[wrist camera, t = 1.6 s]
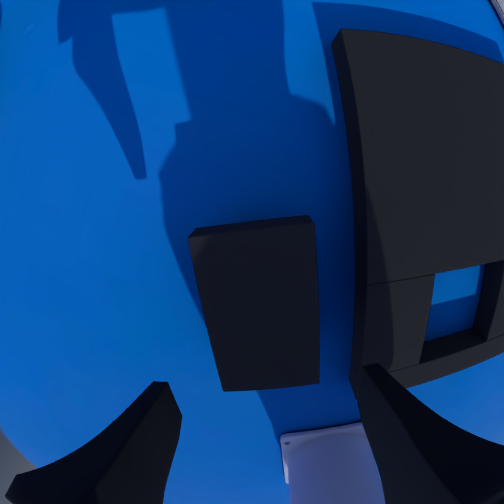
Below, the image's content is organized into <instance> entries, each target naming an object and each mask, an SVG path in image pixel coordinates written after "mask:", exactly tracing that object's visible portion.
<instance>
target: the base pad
mask: <svg viewBox="0 0 504 504" xmlns="http://www.w3.org/2000/svg"><path fill="white" fill-rule="evenodd" d="M331 45H332V49H333V54H334V59H335V64H336V69H337V74H338V79H339V85H340V91H341V97H342V103H343V109H344V116H345V124H346V131H347V139H348V148H349V157H350V168H351V179H352V193H353V209H354V232H355V270H356V271H355V304H354V328H353V344H352V357H351V358H352V359H351V369H350V379H349V380H350V383H351V386H352V389H353V392H354V395H355V398H356V400H358V395H359V388H360V381H361V374H362V366H365V365H370V364H375V363H379V364H380V365H381V366H382V367H383V368H384V369H385V370H386V371H387V372H388V373H389V374H390V375H392V376H393V377H394V378H395V379H396V380H397V381H398V382H399V383H400V384H401V385H402V386H403V387H404V388H409V387H412V386H416V385H419V384H422V383H426V382H429V381H432V380H435V379H438V378H441V377H444V376H447V375H449V374H452V373H455V372H458V371H460V370H463V369H466V368H468V367H471V366H473V365H476V364H478V363H480V362H483V361H485V360H487V359H490V358H492V357H494V356H496V355H499V354H501V353H503V352H504V64H501V63H499V62H496V61H494V60H491V59H489V58H486V57H483V56H480V55H477V54H475V53H472V52H468V51H465V50H462V49H459V48H455V47H452V46H448V45H444V44H441V43H437V42H432V41H428V40H423V39H419V38H414V37H408V36H403V35H397V34H390V33H383V32H375V31H365V30H354V29H340V31H339V32H338V34H337V35H336V37H335V39H334V40H333V42H332V43H331ZM482 264H486V267H485V273H484V279H483V285H482V290H481V295H480V300H479V305H478V309H477V313H476V317H475V321H474V325H473V328H471V329H468V330H465V331H461V332H458V333H455V334H452V335H448V336H445V337H442V338H438V339H435V340H431V341H427V342H424V339H425V334H426V329H427V324H428V318H429V313H430V307H431V300H432V293H433V286H434V277H435V274H436V273H441V272H447V271H452V270H457V269H462V268H467V267H472V266H477V265H482Z"/></svg>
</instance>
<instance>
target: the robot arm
mask: <svg viewBox="0 0 504 504" xmlns="http://www.w3.org/2000/svg"><path fill="white" fill-rule="evenodd" d="M357 403H358V408H359V412H360V417H361V421H362V422H358V423H354V424H349V425H343V426H338V427H332V428H326V429H319V430H312V431H304V432H295V433H286V434H283V435H281V437H280V441H281V449H282V458H283V466H284V475H285V482H286V483H287V484H289V499H290V504H504V446H503V445H500V444H497V443H494V442H491V441H488V440H485V439H483V438H480V437H478V436H476V435H474V434H471V433H469V432H467V431H465V430H463V429H461V428H459V427H457V426H455V425H454V424H452V423H451V422H449V421H447V420H446V419H444V418H442V417H441V416H439V415H438V414H437V413H435V412H434V411H432V410H431V409H430V408H428V407H427V406H426V405H424V404H423V403H422V402H421V401H420V400H418V399H417V398H416V397H415V396H414V395H412V394H411V393H410V392H409V391H408V390H407V389H406V388H404V387H403V386H402V385H401V384H400V383H399V382H398V381H397V380H396V379H395V378H394V377H393V376H392V375H390V374H389V373H388V372H387V371H386V370H385V369H384V368H383V367H382V366H381V365H380V364H379V363H375V364H370V365H365V366H362V374H361V381H360V388H359V395H358V401H357ZM181 422H182V414H181V412H180V410H179V407H178V405H177V403H176V400H175V398H174V396H173V393H172V391H171V389H170V386H169V384H168V382H155V381H153V382H152V383H151V384H150V385H149V386H148V387H147V388H146V389H145V391H144V392H143V393H142V394H141V395H140V396H139V397H138V398H137V399H136V400H135V401H134V402H133V403H132V404H131V405H130V406H129V407H128V408H127V409H126V410H125V411H124V412H123V413H122V414H121V415H120V416H119V417H118V418H117V419H116V420H115V421H113V422H112V423H111V424H110V425H109V426H108V427H107V428H106V429H104V430H103V431H102V432H101V433H100V434H98V435H97V436H96V437H95V438H93V439H92V440H91V441H89V442H88V443H86V444H85V445H83V446H82V447H80V448H79V449H77V450H75V451H74V452H72V453H70V454H69V455H67V456H65V457H63V458H61V459H59V460H57V461H55V462H53V463H51V464H48V465H46V466H44V467H41V468H38V469H35V470H32V471H29V472H25V473H22V474H17V475H16V476H15V478H14V480H13V482H12V483H11V485H10V487H9V489H8V491H7V493H6V495H5V497H6V498H7V499H8V500H9V501H10V502H11V503H13V504H163V498H164V491H165V486H166V482H167V478H168V475H169V471H170V468H171V465H172V461H173V458H174V454H175V451H176V447H177V444H178V440H179V436H180V429H181ZM375 461H376V463H375ZM376 464H377V466H376ZM377 467H378V470H379V473H378V470H377ZM379 474H380V477H381V480H380V477H379ZM381 482H382V484H381ZM382 487H383V488H382Z"/></svg>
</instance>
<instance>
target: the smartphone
mask: <svg viewBox="0 0 504 504" xmlns="http://www.w3.org/2000/svg"><path fill="white" fill-rule="evenodd" d="M491 2H492V4H493V5H494V7H495V9H496V11H497V13H498V15H499V17H500V19H501V21H502V23H503V25H504V0H491Z"/></svg>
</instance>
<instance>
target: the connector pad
mask: <svg viewBox="0 0 504 504" xmlns="http://www.w3.org/2000/svg"><path fill="white" fill-rule="evenodd" d="M188 242H189V247H190V253H191V258H192V263H193V268H194V272H195V277H196V282H197V287H198V291H199V296H200V300H201V305H202V309H203V314H204V318H205V322H206V327H207V331H208V335H209V339H210V343H211V347H212V351H213V355H214V359H215V363H216V367H217V370H218V374H219V378H220V381H221V385H222V389H223V391H224V392H226V391H248V390H263V389H275V388H286V387H295V386H304V385H311V384H318V383H319V368H320V343H319V296H318V272H317V254H316V238H315V224H314V222H313V221H312V219H311V218H310V217H309V216H308V215H304V216H294V217H285V218H276V219H267V220H258V221H250V222H241V223H233V224H225V225H217V226H209V227H202V228H196V229H195V230H194V231H193V232H192V233H191V234H190V235H189V236H188Z"/></svg>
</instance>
